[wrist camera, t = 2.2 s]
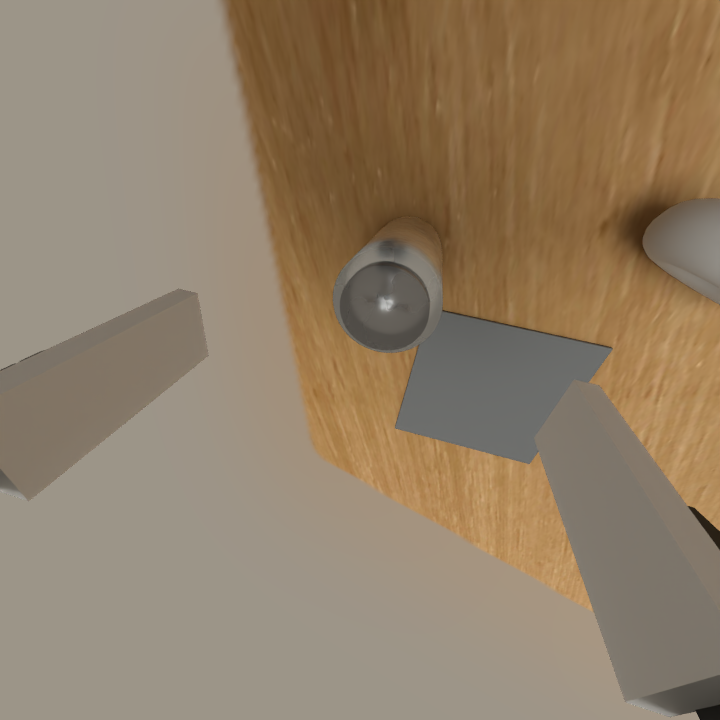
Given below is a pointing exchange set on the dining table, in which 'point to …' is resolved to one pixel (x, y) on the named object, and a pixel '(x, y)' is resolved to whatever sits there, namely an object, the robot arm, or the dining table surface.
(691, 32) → the dining table surface
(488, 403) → the mat
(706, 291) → the donut
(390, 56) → the dining table surface
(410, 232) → the shaker
